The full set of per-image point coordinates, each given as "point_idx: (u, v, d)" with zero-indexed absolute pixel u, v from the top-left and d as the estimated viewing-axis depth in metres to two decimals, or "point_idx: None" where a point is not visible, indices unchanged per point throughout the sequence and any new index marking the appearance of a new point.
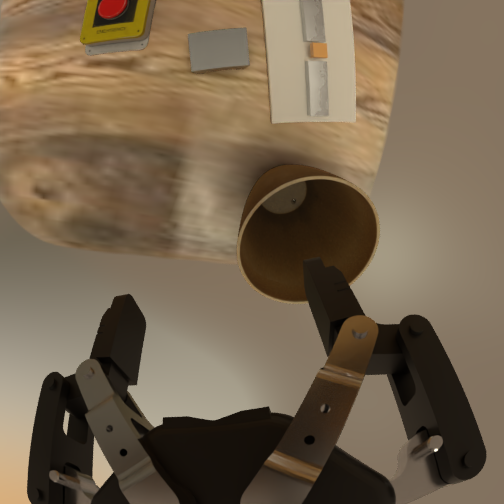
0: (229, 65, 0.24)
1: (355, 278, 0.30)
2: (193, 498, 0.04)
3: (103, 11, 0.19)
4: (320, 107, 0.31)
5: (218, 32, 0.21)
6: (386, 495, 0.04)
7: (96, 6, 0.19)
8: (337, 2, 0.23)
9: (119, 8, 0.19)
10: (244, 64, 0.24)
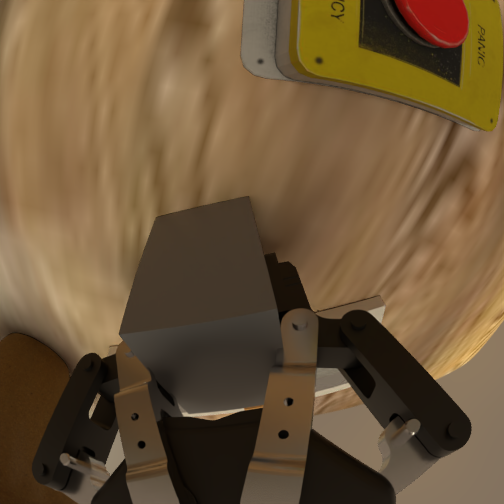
0: (173, 394, 0.09)
1: None
2: (193, 498, 0.04)
3: None
4: None
5: None
6: (381, 487, 0.04)
7: None
8: None
9: (423, 19, 0.05)
10: (187, 408, 0.10)
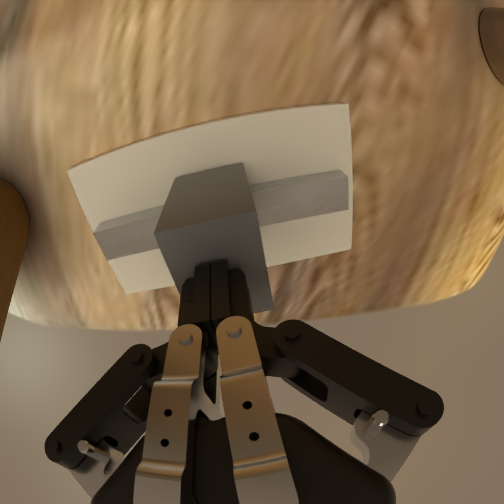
0: None
1: None
2: (193, 498, 0.04)
3: None
4: (113, 245, 0.18)
5: (260, 270, 0.13)
6: (373, 481, 0.04)
7: None
8: (332, 234, 0.21)
9: None
10: None
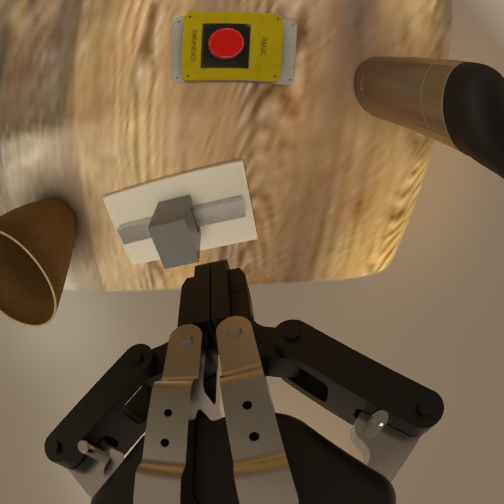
0: (160, 255, 0.32)
1: (11, 318, 0.25)
2: (193, 498, 0.04)
3: (218, 34, 0.22)
4: (127, 236, 0.36)
5: (189, 242, 0.32)
6: (373, 481, 0.04)
7: (232, 23, 0.22)
8: (243, 230, 0.40)
9: (218, 52, 0.23)
10: (164, 265, 0.33)
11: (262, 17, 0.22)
